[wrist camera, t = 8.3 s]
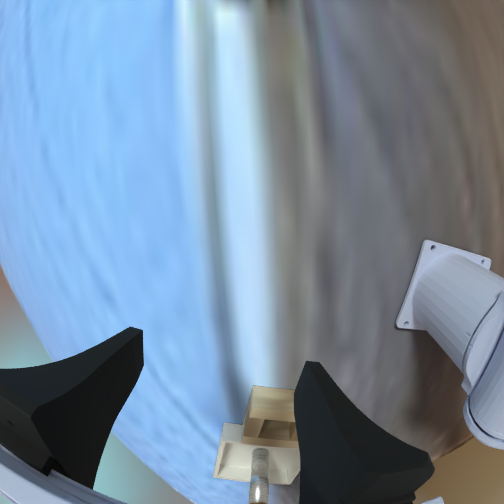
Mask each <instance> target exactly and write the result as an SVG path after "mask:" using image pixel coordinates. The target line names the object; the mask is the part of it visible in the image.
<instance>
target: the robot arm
mask: <svg viewBox="0 0 504 504" xmlns="http://www.w3.org/2000/svg"><path fill="white" fill-rule="evenodd" d="M432 245H433V249H432V250H431V246H432ZM481 261H482V262H481ZM490 265H491V260H490V259H489V258H487V257H483V256H480V255H477V254H474V253H471V252H468V251H464V250H461V249H458V248H454V247H451V246H448V245H444V244H441V243H437V242H434V241H430V240H426V241H424V242H423V244H422V248H421V251H420V254H419V258H418V261H417V264H416V267H415V270H414V273H413V276H412V279H411V282H410V285H409V288H408V291H407V294H406V296H405V299H404V302H403V304H402V307H401V310H400V312H399V315H398V317H397V320H396V326H397V327H398V328H404V329H415V330H426V331H427V332H428V333H429V334H430V335H431V336H432V337H433V339H434V340H435V341H436V342H437V343H438V344H439V345H440V347H441V348H442V349H443V350H444V351H445V353H446V354H447V355H448V356H449V357H450V358H451V360H452V361H453V362H454V363H455V365H456V366H457V367H458V368H459V369H460V371H461V372H462V373H463V374H464V380H463V382H462V385H461V386H462V388H463V389H464V391H465V392H466V393H467V395H468V397H467V399H466V401H465V403H464V407H463V414H464V419H465V422H466V424H467V426H468V428H469V430H470V431H471V433H472V434H473V435H474V437H475V438H476V439H478V440H479V441H480V442H481V443H483V444H485V445H487V446H490V447H493V448H497V449H502V450H504V278H502V277H500V276H499V275H497V274H495V273H493V272H492V271H490V270H489V268H490ZM406 321H407V322H406ZM405 322H406V324H404V323H405ZM143 366H144V357H143V330H141V329H137V328H134V327H129V328H127V329H125V330H123V331H122V332H120V333H118V334H116V335H115V336H113V337H111V338H109V339H107V340H106V341H104V342H102V343H100V344H98V345H96V346H94V347H92V348H90V349H88V350H86V351H84V352H82V353H79V354H77V355H75V356H72V357H69V358H66V359H63V360H60V361H57V362H53V363H49V364H45V365H40V366H35V367H27V368H17V369H0V494H1V495H2V496H4V497H5V498H6V499H7V500H9V501H10V502H11V503H13V504H127V503H124V502H121V501H118V500H116V499H113V498H111V497H108V496H106V495H103V494H101V493H99V492H96V491H94V490H93V486H94V482H95V477H96V474H97V470H98V466H99V463H100V459H101V456H102V453H103V450H104V447H105V445H106V442H107V439H108V437H109V434H110V431H111V429H112V426H113V424H114V422H115V420H116V418H117V416H118V414H119V412H120V411H121V409H122V407H123V405H124V404H125V402H126V400H127V399H128V397H129V395H130V393H131V392H132V390H133V388H134V386H135V385H136V383H137V381H138V378H139V376H140V373H141V371H142V368H143ZM294 417H295V424H296V431H297V438H298V444H299V451H300V500H299V504H413V503H412V501H414V500H415V498H416V497H415V494H414V492H415V491H416V490H417V489H418V488H419V487H421V486H422V485H423V484H424V483H425V482H426V481H427V480H428V479H429V478H430V477H431V476H432V474H433V473H434V470H435V468H434V466H433V463H432V461H431V459H430V457H429V455H428V453H427V452H425V451H423V450H420V449H418V448H416V447H413V446H411V445H409V444H407V443H405V442H403V441H401V440H399V439H397V438H396V437H394V436H392V435H391V434H389V433H388V432H386V431H385V430H383V429H382V428H380V427H379V426H378V425H376V424H375V423H374V422H372V421H371V420H370V419H369V418H368V417H367V416H366V415H364V414H363V413H362V412H361V411H360V410H359V409H358V408H357V407H356V406H355V405H354V404H353V403H352V402H351V401H350V400H349V399H348V398H347V396H346V395H345V394H344V393H343V392H342V391H341V389H340V388H339V387H338V386H337V384H336V383H335V382H334V381H333V379H332V378H331V377H330V375H329V374H328V373H327V372H326V370H325V369H324V368H323V366H322V365H321V364H320V363H319V362H312V361H306V363H305V365H304V368H303V371H302V373H301V376H300V379H299V381H298V384H297V386H296V389H295V392H294ZM420 504H444V502H443V499H442V497H437V498H434V499H431V500H428V501H425V502H422V503H420Z"/></svg>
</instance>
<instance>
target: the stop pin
mask: <svg viewBox="0 0 504 504" xmlns="http://www.w3.org/2000/svg"><path fill="white" fill-rule="evenodd" d="M268 489H269V450H267V449H265V448H256V449H254V450H253V451H252V463H251V478H250V492H249V504H268Z"/></svg>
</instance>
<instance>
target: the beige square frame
mask: <svg viewBox="0 0 504 504" xmlns="http://www.w3.org/2000/svg"><path fill="white" fill-rule="evenodd" d="M294 392H295V390H286V389H277V388H269V387H262V386H254V385H253V388H252V391H251V395H250V399H249V402H248V406H247V409H246V413H245V417H244V420H243V427H242V439H241V443H242V444H250V445H259V446H269V447H282V448H299V444H298V438H297V431H296V424H295V417H294Z"/></svg>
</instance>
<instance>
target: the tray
mask: <svg viewBox="0 0 504 504" xmlns="http://www.w3.org/2000/svg"><path fill="white" fill-rule="evenodd" d="M242 427H243V425H239V424H232V423H226V422H224V423H223V428H222V433H221V438H220V443H219V448H218V452H217V457H216V462H215V468H214V474H213V477H215V478H221V479H228V480H236V481H244V482H250V478H251V463H252V451H253V450H254V449H256V448H265V449H267V450H269V484H291V483H292V481H293V480H294V478H295V477H296V476H297V474H298V473H299V471H300V451H299V448H282V447H269V446H259V445H250V444H242V443H241V439H242Z"/></svg>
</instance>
